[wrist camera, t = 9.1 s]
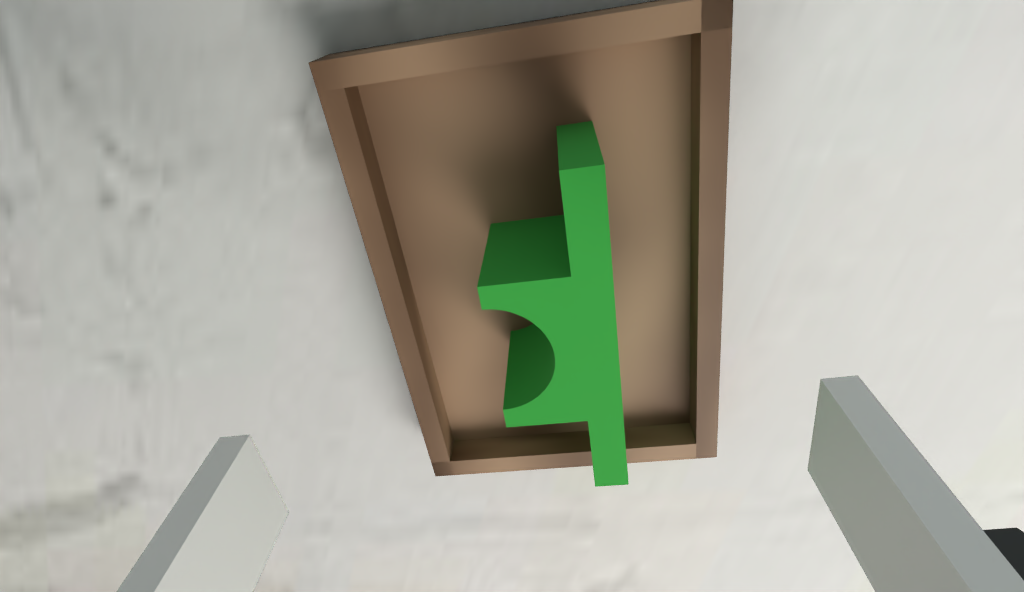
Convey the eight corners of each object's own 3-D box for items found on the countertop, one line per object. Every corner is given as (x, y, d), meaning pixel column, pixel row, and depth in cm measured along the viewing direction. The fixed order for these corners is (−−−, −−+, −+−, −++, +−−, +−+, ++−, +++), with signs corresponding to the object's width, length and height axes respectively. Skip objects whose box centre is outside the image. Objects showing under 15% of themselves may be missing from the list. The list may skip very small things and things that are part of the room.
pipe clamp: (474, 136, 18) (454, 182, 14) (592, 119, 18) (605, 162, 14) (524, 406, 24) (519, 494, 20) (615, 398, 23) (629, 487, 19)
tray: (442, 445, 26) (435, 476, 24) (329, 54, 18) (308, 62, 16) (705, 425, 24) (716, 457, 23) (715, -10, 16) (733, -7, 15)
